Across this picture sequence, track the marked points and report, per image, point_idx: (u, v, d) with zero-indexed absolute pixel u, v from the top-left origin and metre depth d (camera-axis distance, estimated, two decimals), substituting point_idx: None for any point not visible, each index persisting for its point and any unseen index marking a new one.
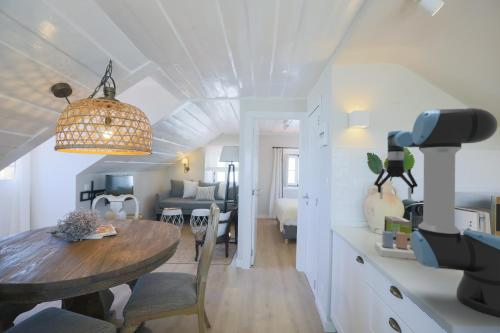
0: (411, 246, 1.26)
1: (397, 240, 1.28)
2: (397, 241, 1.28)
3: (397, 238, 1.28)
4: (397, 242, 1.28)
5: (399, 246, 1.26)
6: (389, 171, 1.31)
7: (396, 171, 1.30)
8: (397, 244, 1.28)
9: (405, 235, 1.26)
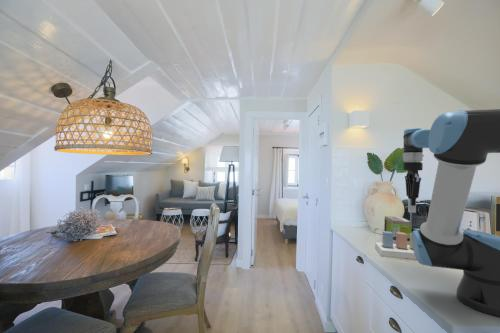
0: (411, 246, 1.26)
1: (397, 240, 1.28)
2: (397, 241, 1.28)
3: (397, 238, 1.28)
4: (397, 242, 1.28)
5: (399, 246, 1.26)
6: None
7: None
8: (397, 244, 1.28)
9: (405, 235, 1.26)
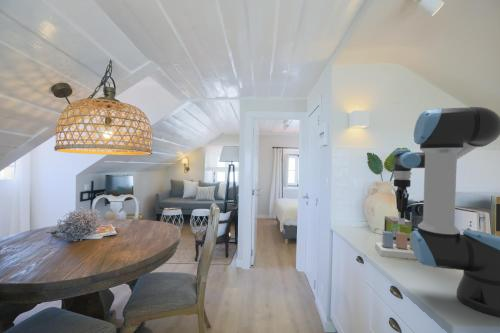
0: (411, 246, 1.26)
1: (397, 240, 1.28)
2: (397, 241, 1.28)
3: (397, 238, 1.28)
4: (397, 242, 1.28)
5: (399, 246, 1.26)
6: (397, 190, 1.31)
7: None
8: (397, 244, 1.28)
9: (405, 235, 1.26)
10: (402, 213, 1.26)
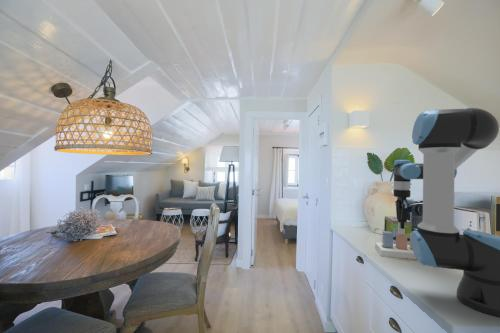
0: (411, 246, 1.26)
1: (397, 242, 1.28)
2: (397, 243, 1.28)
3: (397, 240, 1.28)
4: (397, 244, 1.28)
5: (399, 248, 1.26)
6: None
7: None
8: (397, 245, 1.28)
9: (405, 237, 1.26)
10: (402, 223, 1.26)
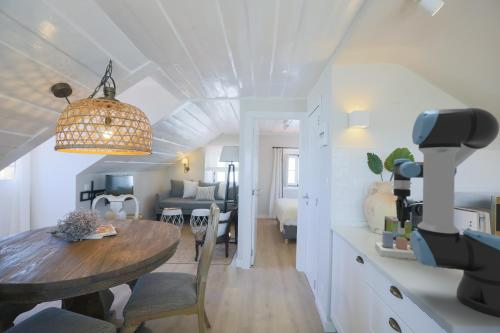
0: (411, 246, 1.26)
1: (397, 245, 1.28)
2: (397, 246, 1.28)
3: (397, 243, 1.28)
4: (397, 247, 1.28)
5: None
6: None
7: None
8: None
9: (405, 240, 1.26)
10: (402, 223, 1.26)
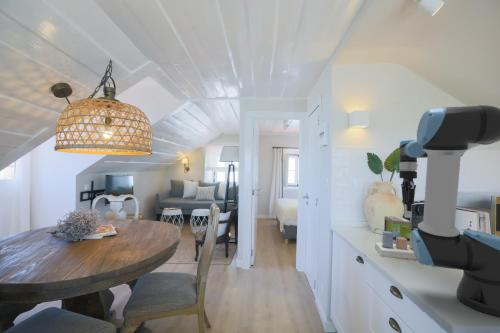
0: (411, 246, 1.26)
1: (397, 245, 1.28)
2: (397, 246, 1.28)
3: (397, 243, 1.28)
4: (397, 247, 1.28)
5: None
6: None
7: None
8: None
9: (405, 240, 1.26)
10: (409, 206, 1.22)
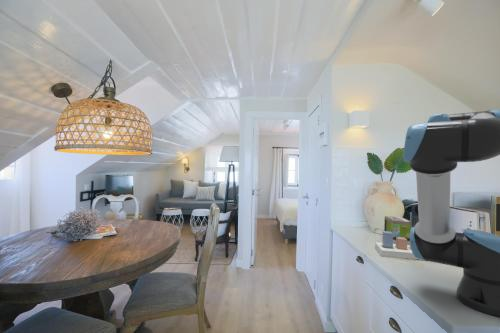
0: None
1: (397, 245, 1.28)
2: (397, 246, 1.28)
3: (397, 243, 1.28)
4: (397, 247, 1.28)
5: None
6: None
7: None
8: None
9: (405, 240, 1.26)
10: None
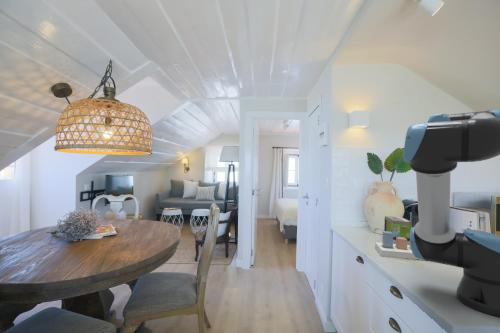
0: None
1: (397, 245, 1.28)
2: (397, 246, 1.28)
3: (397, 243, 1.28)
4: (397, 247, 1.28)
5: None
6: None
7: None
8: None
9: (405, 240, 1.26)
10: None
